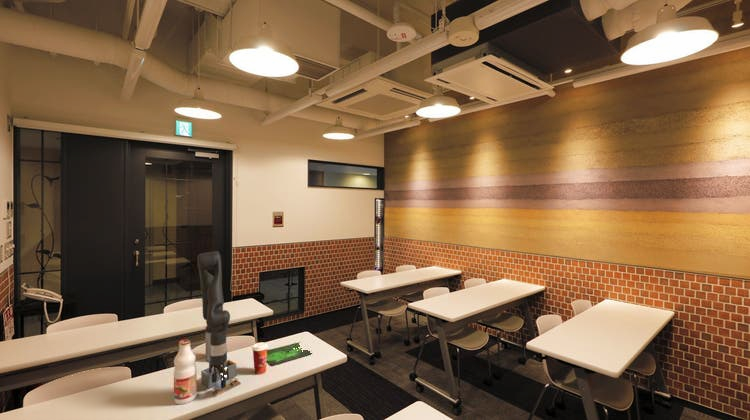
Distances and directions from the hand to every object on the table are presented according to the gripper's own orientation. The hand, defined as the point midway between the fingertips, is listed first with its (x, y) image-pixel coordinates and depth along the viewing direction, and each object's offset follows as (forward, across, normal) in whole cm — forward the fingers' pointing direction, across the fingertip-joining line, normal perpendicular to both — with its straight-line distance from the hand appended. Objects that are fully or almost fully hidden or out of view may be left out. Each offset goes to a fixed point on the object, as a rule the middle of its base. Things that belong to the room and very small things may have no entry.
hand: (218, 384), depth 160 cm
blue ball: (0, 0, 0) cm, 0 cm away
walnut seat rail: (+4, 0, +4) cm, 6 cm away
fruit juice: (+4, -8, -12) cm, 15 cm away
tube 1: (+4, -11, +2) cm, 12 cm away
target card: (+4, -5, +6) cm, 9 cm away
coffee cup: (+4, -1, +24) cm, 25 cm away
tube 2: (+4, -11, +10) cm, 16 cm away
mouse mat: (+4, -7, +47) cm, 48 cm away
